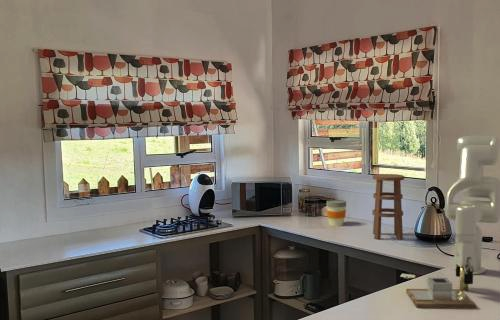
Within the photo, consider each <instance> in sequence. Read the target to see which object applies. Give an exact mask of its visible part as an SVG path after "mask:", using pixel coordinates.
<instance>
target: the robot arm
mask: <svg viewBox="0 0 500 320" xmlns="http://www.w3.org/2000/svg"><path fill="white" fill-rule="evenodd" d="M456 148H457V153H458V156H459V158H460V159H459V174H458V178H457V180H456V181H455V182H454V183H453V184H452V185H451V186H450V187H449V189H448V191H447V193H446V196H445V205H444V206H445V207H444V215H445V218H446V219H447V220H449V221H455V223H454V224H455V226H454V227H455V228H454V230H455V231H454V241H455V245H454V252H453V262H454V270H455V277H459V278H460V267H461V268H463V267H464V270H465V273H464V284H468V285H473V284H474V275H481V274H484V273H486V272H485V271H486V269H485V268H484V267H483V266H482V253H483V252H482V251H483V250H482V249H483V231H482V229H481V227H480V226H479V225H478V223H484V224H497V223H499V222H500V178H498V177H496V176H485V175H484V166H496V165H497V164H498V162H499V158H500V139H499V138H498V137H497V136H495V135H464V136H460V137H458V139H457V140H456ZM461 191H462V194H463V195H464V196H465V197H469V198H479V200H477V199H476V200H475V199H464V200H462V201H460V202H454V198H455V196H456V195H457V194H458V193H460V192H461ZM481 198H482V199H489V200H480V199H481ZM467 268H468V270H467Z"/></svg>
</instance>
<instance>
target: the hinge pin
mask: <svg viewBox="0 0 500 320" xmlns="http://www.w3.org/2000/svg"><path fill="white" fill-rule="evenodd" d="M467 270H468V268H467ZM464 273H465V270H464V267H463V268H461V267H460V277H459V289H461V290H462V291H463V292H468V291H469V284H464Z"/></svg>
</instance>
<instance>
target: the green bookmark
mask: <svg viewBox="0 0 500 320" xmlns="http://www.w3.org/2000/svg"><path fill="white" fill-rule="evenodd" d="M399 277H400V278H404V279H409V280H410V279H413V278H416V274H410V273H408V274H407V273H401V275H400V276H399Z"/></svg>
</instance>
